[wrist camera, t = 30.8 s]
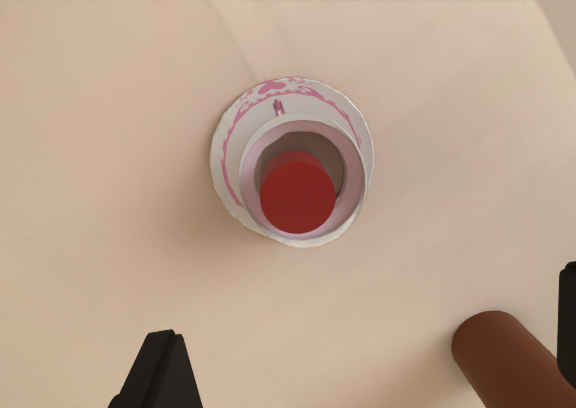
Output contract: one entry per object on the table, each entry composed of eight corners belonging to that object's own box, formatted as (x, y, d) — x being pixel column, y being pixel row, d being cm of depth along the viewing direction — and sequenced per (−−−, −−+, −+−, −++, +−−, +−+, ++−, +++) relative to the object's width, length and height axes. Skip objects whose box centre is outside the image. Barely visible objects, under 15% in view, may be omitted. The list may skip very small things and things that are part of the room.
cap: (326, 147, 25) (335, 157, 22) (329, 212, 26) (338, 230, 23) (257, 153, 25) (256, 164, 22) (263, 217, 26) (263, 237, 23)
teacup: (389, 209, 33) (417, 240, 27) (242, 257, 33) (238, 297, 27) (348, 52, 29) (370, 48, 23) (184, 108, 30) (165, 117, 24)
